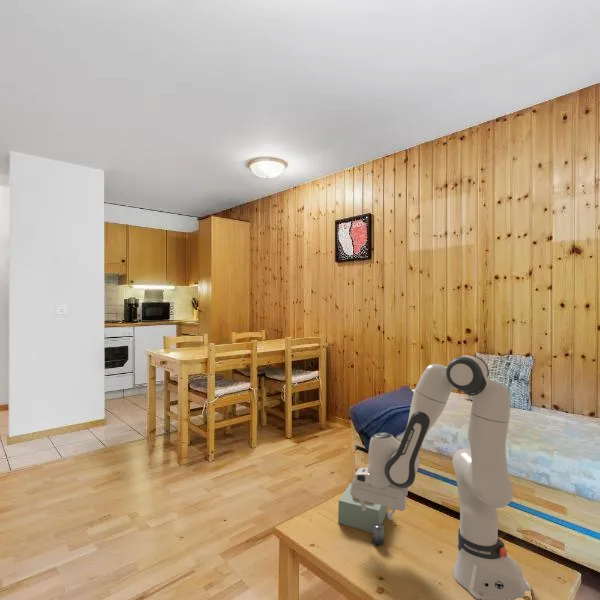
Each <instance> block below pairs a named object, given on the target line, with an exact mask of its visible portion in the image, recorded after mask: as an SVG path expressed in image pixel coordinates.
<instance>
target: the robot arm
mask: <svg viewBox="0 0 600 600" xmlns="http://www.w3.org/2000/svg"><path fill="white" fill-rule="evenodd" d="M489 371H490V369H489V366H488V364H487V363H486V362H485V360H483V359H482V358H480V357H479V356H476V355H468V354H467V355H461V356H458V357H455V358H454V359H452V360H451V361H450V362H449V363H448V365H447V366H445V365H443V364H439V363H432V364H429V365H428V366H427V367H426V368H425V369H424V371H423V372H422V374H421V375H420V378H419V379H418V382H417V383H416V387H415V389H414V392H413V394H412V398H411V404H410V407H409V414H408V421H407V424H406V428H405V431H404V433H403V436H402V439H401V441H400V440H398V439H396V438H395V437H394V436H393V434H391V433H389V432H383V431H382V432H381V431H380V432H377V433H374V434H373V435H371V438H370V440H369V445H368V454H367V455H368V464H367V467H360V468H358V469H357V470H356V471H355V472H354V476H353V477H354V479H353V480H352V482H351V483H352V485H351V492H350V494H351V496H352V497H353V498H357V499H360V501H359V502H360V504H361V506H362V511H363V512H366V511H367V506H366V505H365V504H364V501H368V502H371V503H375V504H378V505H382V506H386V507H387V508H389V509H390V511H387V520H392V519H393V515H394V514H395V512H396V511H399V512H400V511H401V512H404V511H405V510H406V508H407V496H408V494H409V493H408V492H409V489H408V488H409V487H411V486H412V485H413V484H414V482H415V479H416V474H417V473H418V469H419V467H420V464H421V457H420V454H419V452H420V450H421V447H422V445H423V442H424V440H425V438H426V436H427V434H428V433H429V431H430V430H431V429H432V427H433V426H434V424H436V422H437V420H438V419H439V418H440V416H441V414H442V413H443V411H444V409H445V407H446V406H447V403H448V400H449V397H450V395H451V393H452V392H453V390H454V389H455V388H456V390H458V391H461V392H463V393H464V394H466V395H468V396H469V397H471V398H472V402H471V408H470V415H469V423H468V426H467V427H468V430H467V440H468V442H469V447H470V448H469V447H463V448H460V449H458V450H457V451H456V452H455V453H454V454H453V457H452V459H451V460H452V461H451V462H452V467H453V470H454V474H455V479H456V485H457V493H458V499H459V507H460V508H459V509H460V511H459V514H460V515H459V518H460V519H459V528H458V532H457V549H458V550H457V557H456V560H455V565H454V566H453V569H452V574H453V577H454V579H455V580H456V581H457V582H458V583H459V584H460V585H461V586H462V587H463V588H464V589H465V590H467V591H468V592H469V593H470V595H471V594H472V595H473V596H472V595H471V596H472V597H473V598H474V597H475V598H474V599H476V600H480V599H481V600H509V599H510V600H515V599H517V598H523V597H524V595H525V591H526V590H527V591H531V590H532V586H531V585H530V583H529V580H527V579H526V578H525V577H524V573H523V571H522V568H521V567H520V564H519V563H518V562H517V561H516V560H515V559H514V558H512V556H510V555H509V554H508V553H507V552H508V551H507V549H506V548H505V547H506V546H505V543H504V539H503V538H502V537H501V538H499V536H498V533H499V532H498V531H499V514H498V511H497V509H502V508H505V507H507V506H508V505H509V504H510V503H511V502H512V500H513V497H514V491H515V490H514V487H513V485H512V482H511V480H510V476H509V470H508V463H507V449H506V447H507V445H506V443H507V435H508V429H509V424H510V423H509V422H510V415H511V413H510V412H511V395H510V391H509V389H508V387H506V386H505V385H503V384H502V383H500V382H497V381H493V380H491V379H490V378H489V373H490V372H489ZM524 581H525V582H526V583H525V582H524ZM530 589H531V590H530Z"/></svg>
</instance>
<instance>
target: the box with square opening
mask: <svg viewBox="0 0 600 600" xmlns="http://www.w3.org/2000/svg"><path fill="white" fill-rule="evenodd" d="M351 485H352V482H350V483H349V485H348V486H347V488H346V489H345V490H344V492H343V494H342V495H341V496H340V498H339V499H338V511H337V512H338V516H337V521H338V522H337V523H338V524H341V525H345V526H347V527H351V528H355V529H359V530H362V531H366V532H369V533H372V534H373V524H375V523H380V524H382V525H383V523H384V521H385V519H386V516H387V515H388V507H386V506H382V505H378V504H375V503H371V502H368V501H364V504H365V505H366V506H367V511H366V512H363V511H362V506H361V504H360V502H359V501H360V499H357V498H353V497H352V496H351V494H350V492H351Z"/></svg>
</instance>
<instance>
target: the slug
mask: <svg viewBox="0 0 600 600" xmlns="http://www.w3.org/2000/svg"><path fill="white" fill-rule="evenodd" d="M384 533H385V526H384V525H383V524H380V523H375V524H373V533H372V539H371V542H372V544H373V545H374V546H376V547H381V546H382V547H383V545H384V542H385V541H384V540H385V539H384V538H385V537H384V535H385V534H384Z"/></svg>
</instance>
